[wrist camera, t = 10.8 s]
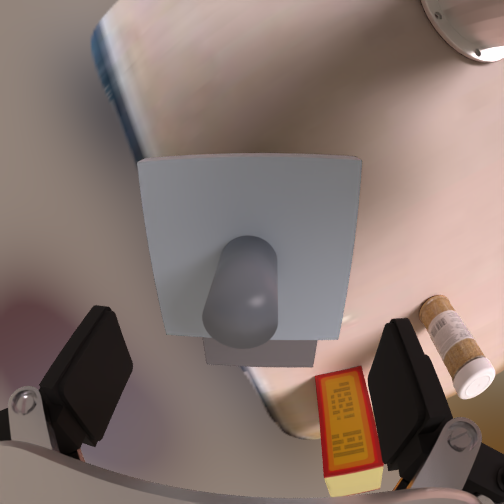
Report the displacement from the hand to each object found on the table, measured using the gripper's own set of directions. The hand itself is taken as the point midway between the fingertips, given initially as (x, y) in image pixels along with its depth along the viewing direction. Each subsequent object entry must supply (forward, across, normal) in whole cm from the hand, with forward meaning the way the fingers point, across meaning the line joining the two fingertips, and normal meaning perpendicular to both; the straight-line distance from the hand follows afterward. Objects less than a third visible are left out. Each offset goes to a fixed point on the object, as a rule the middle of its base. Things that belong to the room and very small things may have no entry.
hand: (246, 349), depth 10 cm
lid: (+8, +1, +1) cm, 8 cm away
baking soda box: (+21, -11, +30) cm, 38 cm away
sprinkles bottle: (+22, -21, +15) cm, 34 cm away
